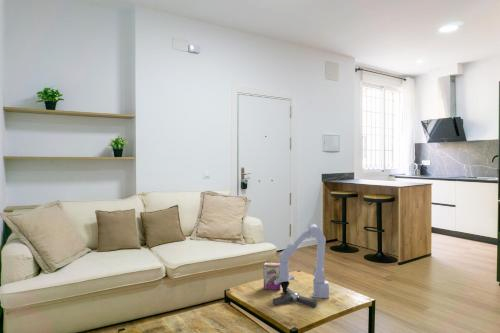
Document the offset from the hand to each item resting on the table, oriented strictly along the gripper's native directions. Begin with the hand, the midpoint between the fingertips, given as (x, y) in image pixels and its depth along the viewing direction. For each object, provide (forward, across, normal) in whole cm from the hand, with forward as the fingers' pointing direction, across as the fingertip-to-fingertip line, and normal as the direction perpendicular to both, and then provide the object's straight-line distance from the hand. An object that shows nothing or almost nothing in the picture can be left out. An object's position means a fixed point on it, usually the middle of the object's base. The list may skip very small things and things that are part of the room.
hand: (284, 292), depth 207 cm
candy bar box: (+2, 0, -13) cm, 13 cm away
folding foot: (+1, -2, +1) cm, 3 cm away
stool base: (+2, +2, +12) cm, 12 cm away
